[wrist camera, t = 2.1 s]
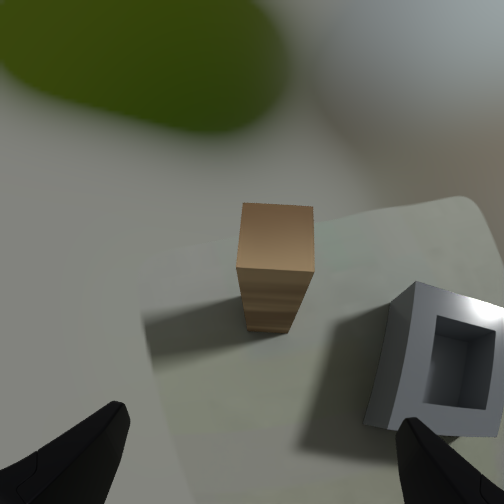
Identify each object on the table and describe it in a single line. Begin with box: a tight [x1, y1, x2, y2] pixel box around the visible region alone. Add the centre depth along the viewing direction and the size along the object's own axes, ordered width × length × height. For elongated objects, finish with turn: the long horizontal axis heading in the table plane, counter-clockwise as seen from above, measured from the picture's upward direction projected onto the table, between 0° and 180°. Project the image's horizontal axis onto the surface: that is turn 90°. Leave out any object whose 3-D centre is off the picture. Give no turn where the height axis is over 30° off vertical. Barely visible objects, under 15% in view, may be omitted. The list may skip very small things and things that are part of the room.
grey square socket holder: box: [363, 281, 504, 437], centre depth 18 cm, size 10×10×5 cm
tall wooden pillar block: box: [236, 203, 315, 333], centre depth 18 cm, size 3×3×12 cm
